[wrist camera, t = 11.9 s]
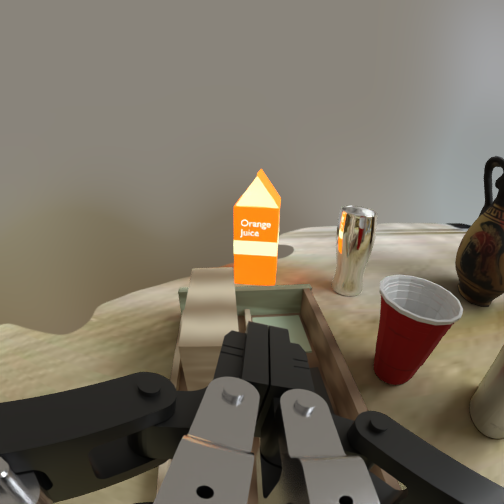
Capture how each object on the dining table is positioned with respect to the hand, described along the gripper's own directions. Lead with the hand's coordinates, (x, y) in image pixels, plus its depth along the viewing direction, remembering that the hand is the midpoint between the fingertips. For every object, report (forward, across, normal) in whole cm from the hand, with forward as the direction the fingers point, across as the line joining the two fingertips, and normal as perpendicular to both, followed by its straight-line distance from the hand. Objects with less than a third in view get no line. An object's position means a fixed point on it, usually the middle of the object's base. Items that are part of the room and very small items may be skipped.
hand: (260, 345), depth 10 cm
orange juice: (+45, -1, +11) cm, 46 cm away
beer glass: (+40, -18, +9) cm, 45 cm away
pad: (+25, -6, +13) cm, 29 cm away
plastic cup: (+19, -21, +12) cm, 31 cm away
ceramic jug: (+37, -49, +3) cm, 61 cm away
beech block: (+19, +2, +16) cm, 25 cm away
